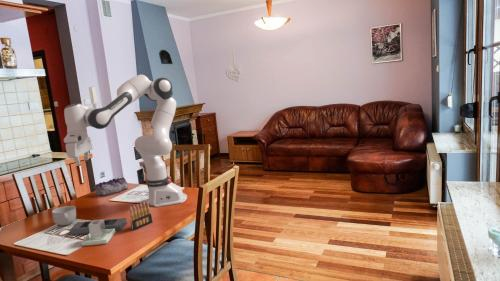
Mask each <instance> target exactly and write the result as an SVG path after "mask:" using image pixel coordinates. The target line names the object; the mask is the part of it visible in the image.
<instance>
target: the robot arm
mask: <svg viewBox="0 0 500 281" xmlns="http://www.w3.org/2000/svg"><path fill="white" fill-rule="evenodd" d="M172 84H173V83H172V82H171V80H169V79H168V78H167V77H158V78H156V79H154V80H153V81H152V80H150V79H149V78H148V76H146V75H145V74H138V75H135V76H133V77H131V78H130V79H128V80H126V81H124V82H123V83H122V84H121V85H120V86H119V87H118V88H117V89H116V97H115V99H113V100H112V101H111V102H109V103H107V105H105V106H103V107H99V108H94V107H89V106H86V105H83V104H81V103H80V102H79V103H78V102H77V103H76V102H75V103H71V104H68V105H67V106H65V107H64V111H63V112H64V113H63V114H64V120H65V121H64V122H65V124H66V128H67V129H66V132H67V133H66V136H65V137H64V138H63V143H64V144H65V151H66V155H67V157H68V158H69V159H73V161H74V162H75V165H76V166H81V160H80V156H82V155H83V160H84V161H88V160H89V159H90V157H89V156H90V151H91V150H93V144H92V140H91V138H90V136H89V135H88V130H87V129H88V128H87V127H92V128H94V129H98V130H102V129H106V128H107V127H108V126H109V125H110V123H111V122H112V120H113V118H114V117H115V116H116V115H118V113H120V112H121V111H122V110H124V109H125V108H126V107H127V106H129V105H131V104H132V103H133V102H135V101H138V99H139V98H141V97H142V96H145V97H146V98H148V99H149V100H150V101H154V102H157V103H156V104H157V105H156V108H155V110H154V113H153V115H152V118H151V121H150V126H151V127H152V133H151V135H147V134H146V135H141V136H138V137H137V138H136V139H135V141H134V149H135V150H136V151H137V152H138V154H139V156H140V157H141V159H142V161H143V163H144V166H145V170H146V178H147V179H146V186H147V190H148V198H147V199H148V200H147V201H148V204H149V205H150V206H153V207H155V208H159V207H167V206H171V205H172V206H173V205H177V204H178V205H179V204H182V203H184V202H185V201H187V199H188V195H187V194H186V193H184V192H183V189H182V187H181V186H179V185H177V184H175V183H174V182H173V181H172V177H171V176H168V172H167V165H166V162H165V161H164V160H163V159H162V157H161V156H167V155H169V154H170V153H171V151H172V149H173V143H172V141H171V139H170V130H171V126H172V123H173V121H174V120H173V119H174V118H175V114H176V110H177V101H176V99H175V98H173V85H172Z"/></svg>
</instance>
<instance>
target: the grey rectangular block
mask: <svg viewBox="0 0 500 281" xmlns="http://www.w3.org/2000/svg"><path fill="white" fill-rule="evenodd" d="M104 220H105V219H104V218H103V219H93V220H91V221H92V222H91V223H90V224H89V225H88V226H89V231H90V237H91V241H93V240H103V239H104V238H105V237H106V235H107V234H106V229H105V223H104Z"/></svg>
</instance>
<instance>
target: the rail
mask: <svg viewBox="0 0 500 281" xmlns="http://www.w3.org/2000/svg"><path fill="white" fill-rule="evenodd" d="M92 221H93V220H88V221H77V222H75V224H74V225H73V226H72V227H71V228H69V232H70V236H77V235H76V234H80V235H88V234H87V233H90V231H89V226H88V225H89V224H90V223H91V222H92ZM104 223H105V229H115V232H119V231H120V232H121V231H123V229H124V228H125V227H126V225H127V224H128V222H127V217H122V218H109V219H104Z"/></svg>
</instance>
